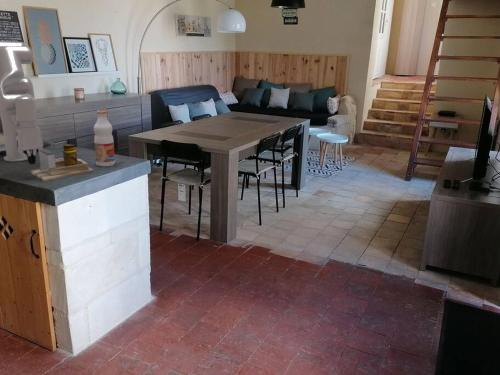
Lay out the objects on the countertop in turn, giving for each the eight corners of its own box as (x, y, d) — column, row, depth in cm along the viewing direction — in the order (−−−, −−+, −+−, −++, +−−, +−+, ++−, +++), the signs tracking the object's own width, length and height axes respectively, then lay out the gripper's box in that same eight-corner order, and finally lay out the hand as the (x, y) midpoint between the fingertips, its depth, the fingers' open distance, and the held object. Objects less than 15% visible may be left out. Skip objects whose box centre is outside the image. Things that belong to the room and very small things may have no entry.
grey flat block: (41, 170, 208) (38, 149, 205) (47, 169, 210) (45, 148, 207) (49, 175, 201) (47, 153, 198) (56, 174, 203) (54, 152, 200)
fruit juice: (98, 162, 231) (94, 109, 222) (116, 162, 232) (113, 109, 223) (94, 166, 222) (89, 112, 213) (112, 167, 223) (109, 112, 214)
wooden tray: (30, 173, 208) (29, 164, 206) (79, 165, 224) (78, 157, 223) (43, 180, 197) (42, 172, 196) (93, 171, 213) (93, 163, 212)
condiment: (80, 169, 212) (78, 145, 208) (61, 171, 208) (59, 147, 204) (76, 165, 218) (74, 142, 214) (58, 167, 213) (56, 144, 210)
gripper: (12, 127, 186) (17, 168, 192) (47, 123, 196) (51, 162, 202) (6, 124, 191) (12, 164, 197) (41, 121, 201) (45, 159, 207)
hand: (32, 163), depth 199 cm, fingers closed
